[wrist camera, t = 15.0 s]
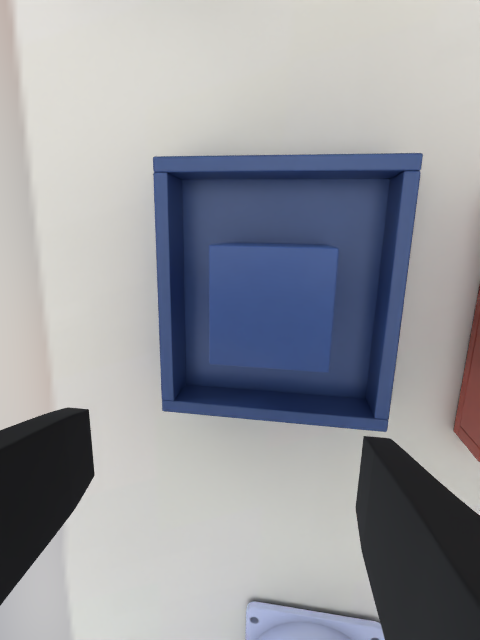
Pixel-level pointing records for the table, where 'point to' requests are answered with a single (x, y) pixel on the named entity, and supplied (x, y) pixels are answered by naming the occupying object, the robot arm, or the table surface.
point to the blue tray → (293, 228)
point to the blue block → (272, 305)
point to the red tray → (471, 392)
